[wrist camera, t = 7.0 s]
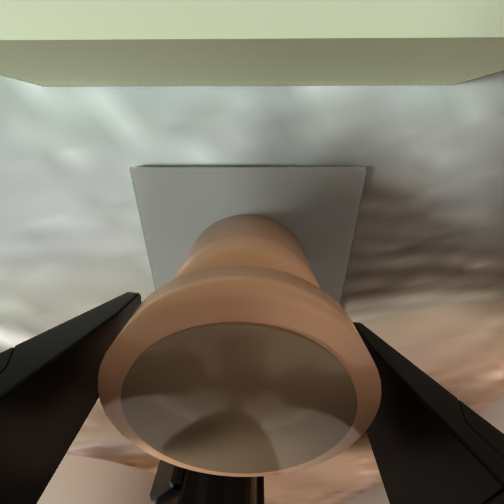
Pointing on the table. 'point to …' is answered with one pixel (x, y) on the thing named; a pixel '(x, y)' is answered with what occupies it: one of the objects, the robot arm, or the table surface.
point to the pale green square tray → (250, 42)
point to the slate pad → (250, 211)
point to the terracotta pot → (241, 360)
